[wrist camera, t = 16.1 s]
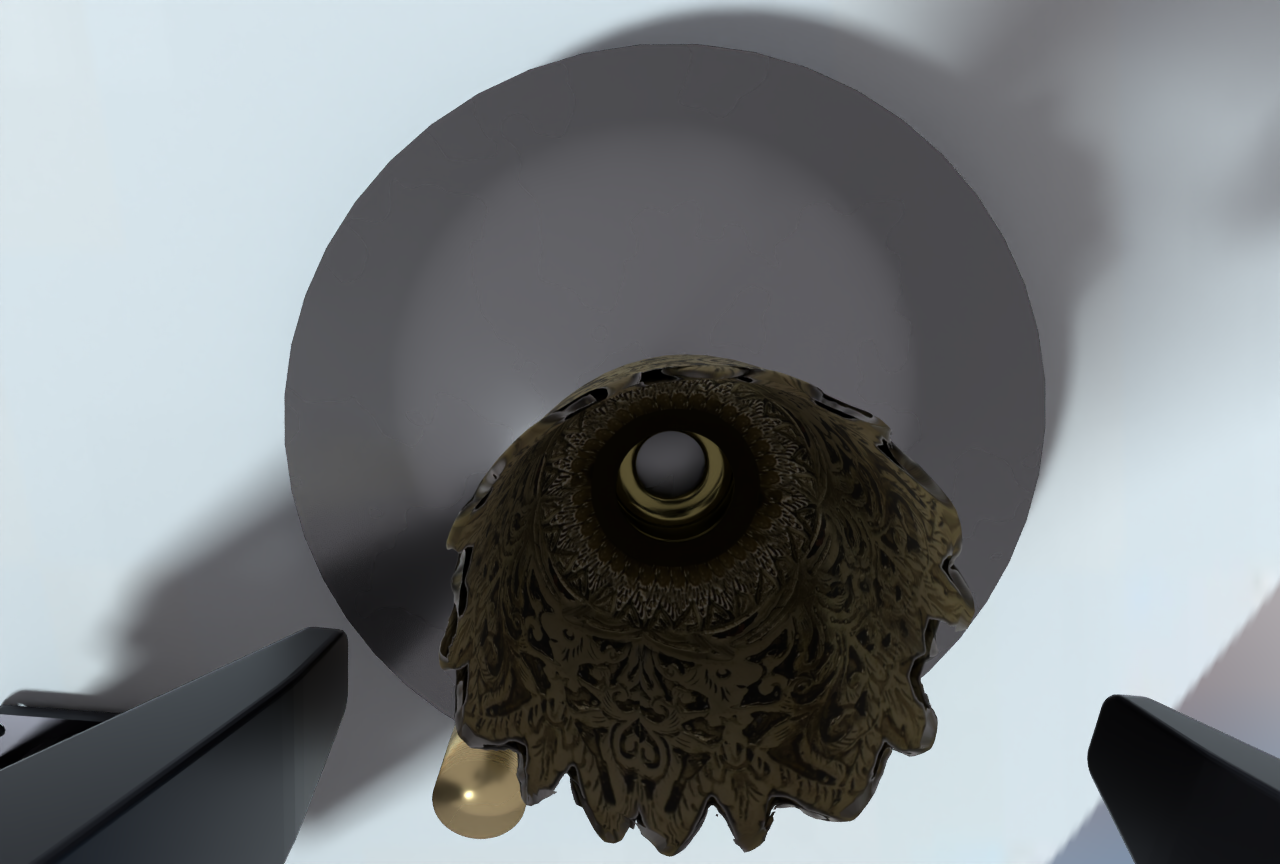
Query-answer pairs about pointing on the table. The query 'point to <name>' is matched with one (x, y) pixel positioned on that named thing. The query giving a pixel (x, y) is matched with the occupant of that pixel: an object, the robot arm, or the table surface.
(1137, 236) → the table surface
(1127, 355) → the table surface
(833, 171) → the turntable
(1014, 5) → the table surface
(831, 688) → the cup
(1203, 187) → the table surface
